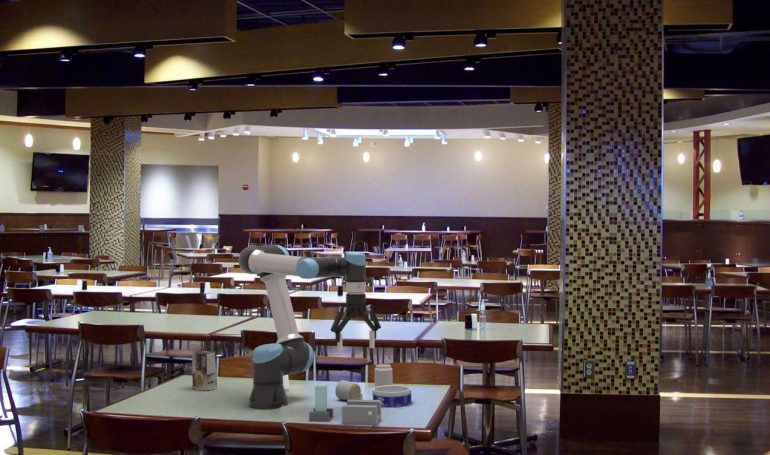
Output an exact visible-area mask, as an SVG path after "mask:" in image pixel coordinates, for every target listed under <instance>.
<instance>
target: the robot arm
mask: <svg viewBox="0 0 770 455" xmlns="http://www.w3.org/2000/svg"><path fill="white" fill-rule="evenodd" d="M366 262H367V260H366V254H365V253H364V252H361V251H355V252H354V251H353V252H352V251H351V252H346V253H345V257H343V256H334V255H333V256H326V257H306V256H305V257H304V256H296V255H295V256H294V255H290V253H289V251H288V250H287V249H286V248H285V247H283V246H282V245H279V244H278V245H277V244H268V245H265V244H264V245H250V246H247V247H245V248H244V249H243V250H242V251H241V252H240V254H239V255H238V266H239V267H240V269H241V271H243V272H245V273H246V274H249V275H258V276H259V280H260V281H261V282H263V283H264V284H265V285H264V286H265V288H266V293H267V298H268V302H269V305H270V310H271V315H272V319H273V323H274V327H275V331H276V335H277V341H276V343H266V344H262V345H259V346H257V347H255V348H254V350H253V352H252V374H253V375H252V376H253V377H252V383H253V385H252V389H251V393H250V396H249V400H248V407H250V408H253V409H259V410H264V409H265V410H267V409H271V410H272V409H279V408H281V407H286V406H288V404H289V400H288V395H287V393H286V389H285V387H284V377H285V376H288V375H293V374H294V375H296V374H301V373H304V372H306V371H308V370H309V369H310V368H311V366H312V364H313V361H314V350H313V348H312V346H311V345H310V344H309V343H307V342H305V338H304V336H302V335H300V333H299V329H298V326H297V321H296V317H295V313H294V309H293V305H292V302H291V301H292V300H291V297H290V292H289V288H288V285H287V284H288V282H287V281H286V277H287V276H294V277H300V278H301V279H303V280H304V279H306V280H311V279H319V278H320V279H321V278H332V277H334V278H335V277H336V278H337V277H341V278H342V277H343V278H345V292H346V294H345V304H346V306H338V308H337V313H336V316H335V319H333V320H334V321H333V322H332V325H331V328H330V332H332V333H334V334H335V335H334V336H335V337H334V338H335V339H334V340H335V343H336V344H337V351H339V352H343V333H342V331H343V330H344V328H345V327H346V325H347V324H348V323H349V321H350V320H351V319H356V318H357V319H358V318H360V319H361V318H362V320H363V321H364V322H365V323H366V324H367V326H368V328H370V329H371V330H370V329H369V330H368V331H369V332H368V334H369V336H368V337H369V339H368V340H369V348H370V349H375V344H376V343H375V340H376V339H377V331H378V330H380V329H381V328H382V326H381V323H380V321H379V318H378V317H377V315H376V313H375V309H374V306H373V304H368V305H366V303H367V301H366V300H367V299H366V298H367V296H366V291H367V290H366V289H367V287H366V272H367V271H366V266H367V263H366ZM366 310H367V312H368V314H369V316H370V318H369V317H368V314H367V313H366ZM344 313H346V314H345V315H344ZM343 316H344V317H343ZM370 319H371V320H370Z"/></svg>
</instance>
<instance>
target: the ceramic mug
mask: <svg viewBox="0 0 770 455" xmlns="http://www.w3.org/2000/svg"><path fill="white" fill-rule="evenodd" d="M363 395H364V394H363V393H362V390H361V387H360V385H359V384H358V383H356V382H351V381H348V380H345V379H342V380H340V381H338V382H337V384H336V387H335V396H336V398H337V399H338V400H342V401H348V400H359V399H362V398H363Z"/></svg>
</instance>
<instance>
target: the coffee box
mask: <svg viewBox="0 0 770 455" xmlns="http://www.w3.org/2000/svg"><path fill="white" fill-rule="evenodd" d="M217 358H218V356H217V352H216V351H208V350H200V351H195V352H191V369H192V370H191V371H192V372H191V373H192V390H193V389H197V390H196V391H202V390H210V391H212V390H211V389H215V388H217V389H218V373H217V372H218V367H217V364H218V363H217V362H218V360H217ZM215 390H216V389H215Z"/></svg>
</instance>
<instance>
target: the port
mask: <svg viewBox="0 0 770 455" xmlns="http://www.w3.org/2000/svg"><path fill="white" fill-rule="evenodd" d="M341 417H342V418H341V421H342V422H341V424H342V425H370V426H371V425H372V426H371V428H377V427H378V425H379V424H380V422H381V421H382V407H381V400H373V399H357V400H346V404H343V405H342V406H341Z"/></svg>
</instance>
